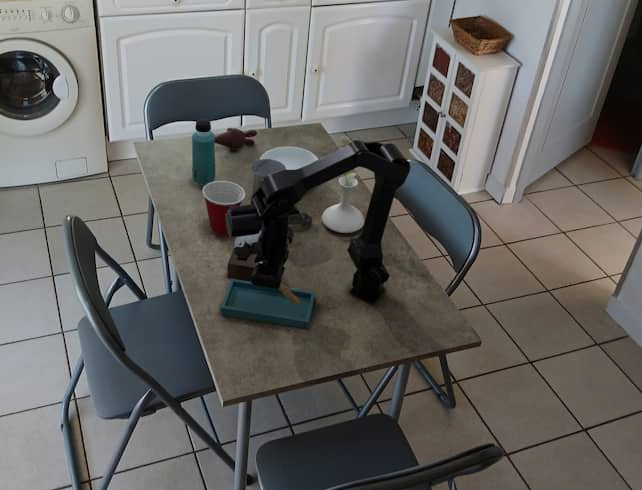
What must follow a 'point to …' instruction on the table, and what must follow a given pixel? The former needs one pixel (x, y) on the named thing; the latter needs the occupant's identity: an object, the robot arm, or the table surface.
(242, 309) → the tray
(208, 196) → the plastic cup
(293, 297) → the tan round-headed peg
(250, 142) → the brown stuffed toy
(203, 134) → the beverage bottle
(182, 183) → the table surface
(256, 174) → the milk frother
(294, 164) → the cereal bowl
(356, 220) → the flower in vase
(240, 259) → the slotted brown holder
